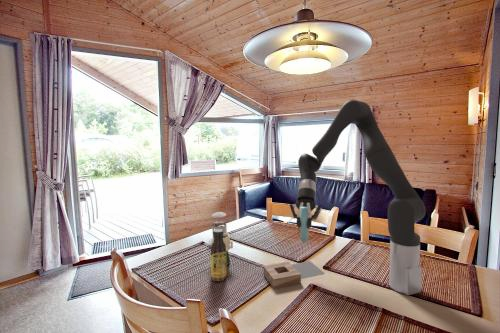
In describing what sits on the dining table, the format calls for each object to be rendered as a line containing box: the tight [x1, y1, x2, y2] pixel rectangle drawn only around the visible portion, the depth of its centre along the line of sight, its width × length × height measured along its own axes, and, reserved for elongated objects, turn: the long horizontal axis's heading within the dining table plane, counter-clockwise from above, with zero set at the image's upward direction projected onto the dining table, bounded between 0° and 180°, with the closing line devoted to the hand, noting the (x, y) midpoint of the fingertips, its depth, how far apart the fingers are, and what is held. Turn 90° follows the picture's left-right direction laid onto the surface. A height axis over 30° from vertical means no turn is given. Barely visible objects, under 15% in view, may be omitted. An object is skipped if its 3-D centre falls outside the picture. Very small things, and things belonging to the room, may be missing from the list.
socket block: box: [262, 261, 302, 290], centre depth 107 cm, size 11×11×4 cm
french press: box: [208, 194, 228, 241], centre depth 151 cm, size 10×12×25 cm
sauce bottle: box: [210, 229, 227, 282], centre depth 108 cm, size 7×6×20 cm
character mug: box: [211, 233, 234, 266], centre depth 121 cm, size 11×7×13 cm, turn 63°
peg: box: [299, 207, 309, 243], centre depth 112 cm, size 3×3×14 cm
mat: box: [291, 260, 326, 280], centre depth 114 cm, size 12×12×1 cm
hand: (303, 227), depth 110 cm, fingers closed on peg, 3 cm apart
